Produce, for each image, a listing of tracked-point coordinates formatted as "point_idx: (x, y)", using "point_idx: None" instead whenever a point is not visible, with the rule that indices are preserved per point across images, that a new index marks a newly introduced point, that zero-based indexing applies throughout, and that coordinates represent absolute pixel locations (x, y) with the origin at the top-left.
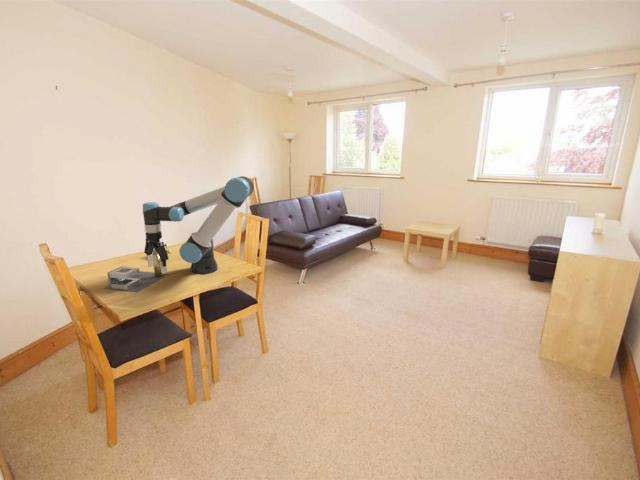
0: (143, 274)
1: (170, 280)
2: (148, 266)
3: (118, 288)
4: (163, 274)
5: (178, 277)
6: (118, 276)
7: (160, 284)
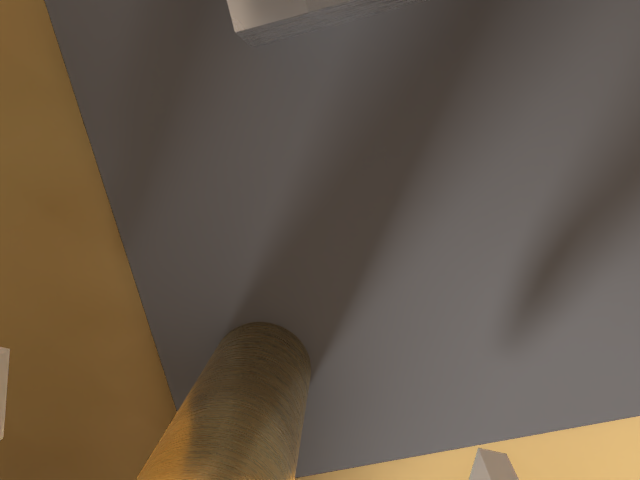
0: (540, 326)
1: (20, 351)
2: (504, 456)
3: None
4: None
5: (25, 471)
6: None
7: (6, 186)
